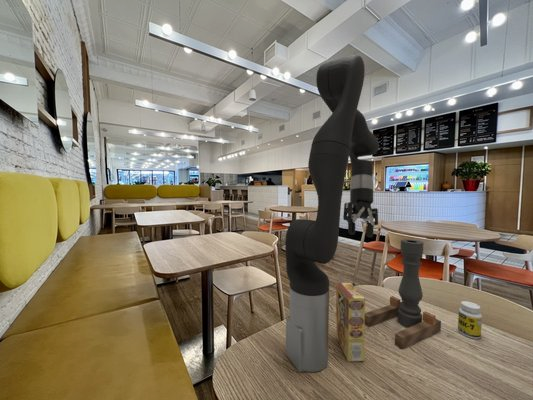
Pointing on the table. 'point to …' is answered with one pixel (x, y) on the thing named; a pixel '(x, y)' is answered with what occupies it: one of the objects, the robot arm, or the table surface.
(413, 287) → the candle holder
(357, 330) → the candy box
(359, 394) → the table surface
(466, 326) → the supplement bottle
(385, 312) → the guide rails
